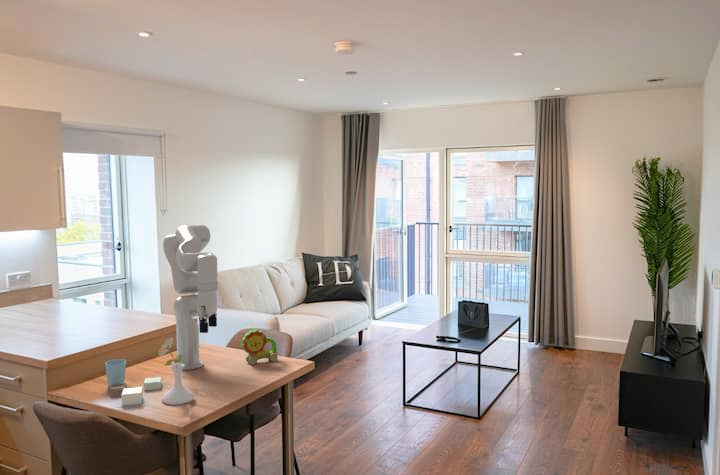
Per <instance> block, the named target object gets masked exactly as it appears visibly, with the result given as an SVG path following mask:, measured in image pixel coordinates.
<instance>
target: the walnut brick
mask: <svg viewBox="0 0 720 475" xmlns="http://www.w3.org/2000/svg"><path fill="white" fill-rule="evenodd" d="M124 388H127V383H125V382H124V384H113V385H112V386H111V387H109V394H110V395H109V396H110V397H119V396H120V397H121V394H122V392H123V389H124Z"/></svg>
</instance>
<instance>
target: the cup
mask: <svg viewBox="0 0 720 475" xmlns="http://www.w3.org/2000/svg"><path fill="white" fill-rule="evenodd" d="M104 366H105V373H106V379H107V384H108V388H111V386H112V385H113V384H125V379H126V377H125V376H126V367H127V359H123V358H119V359H117V358H115V359H109V360H108V361H106V362H104Z"/></svg>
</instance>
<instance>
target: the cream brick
mask: <svg viewBox="0 0 720 475" xmlns="http://www.w3.org/2000/svg"><path fill="white" fill-rule="evenodd" d="M143 390H144V386H136V387H126V388H124V389H123V392H122V394H121V396H120V398H122V405H132V404H141V402H142V399H143V396H144V395H143V394H144V393H143V392H144V391H143Z"/></svg>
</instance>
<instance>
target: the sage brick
mask: <svg viewBox="0 0 720 475" xmlns="http://www.w3.org/2000/svg"><path fill="white" fill-rule="evenodd" d="M161 388H162V376H157V377H155V376H154V377H146V378H144V381H143V390H144V391H150V390H151V391H152V390H153V391H154V390H161Z"/></svg>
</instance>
